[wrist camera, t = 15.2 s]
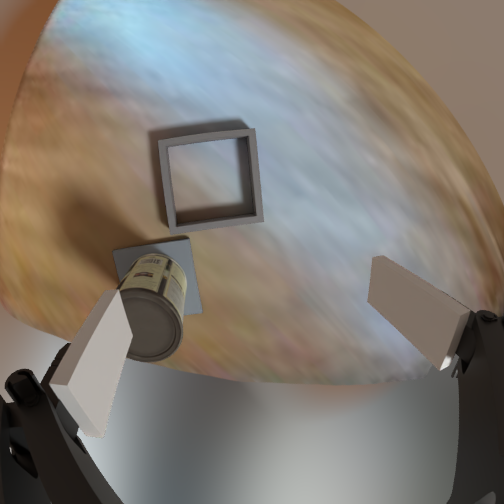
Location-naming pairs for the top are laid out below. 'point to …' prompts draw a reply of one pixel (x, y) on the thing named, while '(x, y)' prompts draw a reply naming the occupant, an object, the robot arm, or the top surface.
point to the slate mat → (174, 250)
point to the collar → (216, 222)
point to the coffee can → (154, 306)
